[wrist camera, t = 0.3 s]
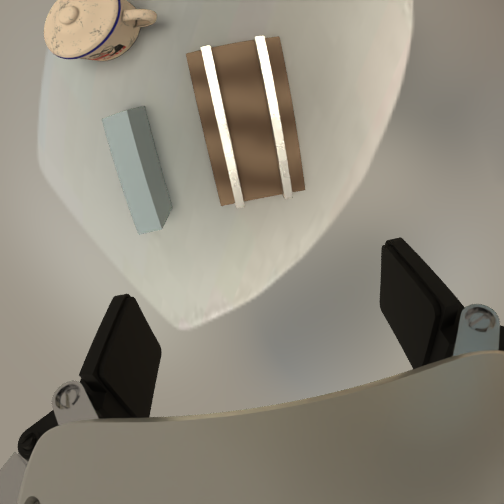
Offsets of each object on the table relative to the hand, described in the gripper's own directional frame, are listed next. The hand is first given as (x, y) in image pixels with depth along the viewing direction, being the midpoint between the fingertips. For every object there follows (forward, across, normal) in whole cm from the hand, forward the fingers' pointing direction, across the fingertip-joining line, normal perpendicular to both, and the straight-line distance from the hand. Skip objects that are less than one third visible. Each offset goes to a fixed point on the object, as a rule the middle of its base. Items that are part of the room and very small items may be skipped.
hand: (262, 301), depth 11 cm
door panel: (+30, +12, -2) cm, 32 cm away
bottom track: (+29, -2, -4) cm, 30 cm away
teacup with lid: (+29, +11, -20) cm, 37 cm away
